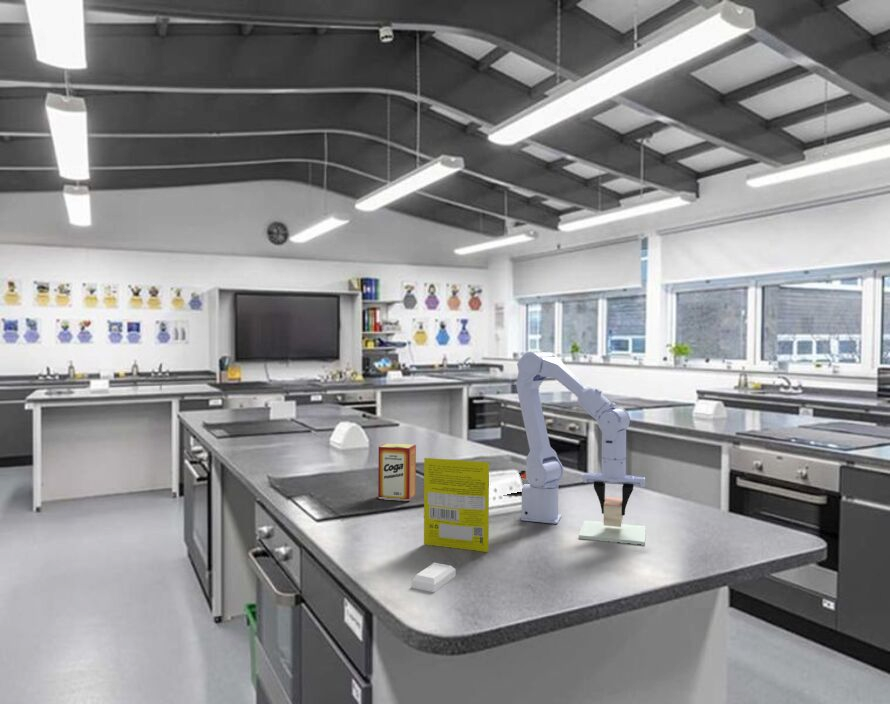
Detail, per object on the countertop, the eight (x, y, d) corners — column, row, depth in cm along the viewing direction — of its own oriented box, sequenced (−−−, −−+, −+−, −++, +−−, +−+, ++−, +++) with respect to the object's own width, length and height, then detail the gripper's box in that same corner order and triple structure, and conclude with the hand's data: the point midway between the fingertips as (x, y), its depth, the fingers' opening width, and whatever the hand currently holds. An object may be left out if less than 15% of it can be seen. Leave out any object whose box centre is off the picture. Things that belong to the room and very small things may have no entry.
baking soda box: (378, 499, 184) (378, 445, 183) (385, 494, 190) (385, 442, 190) (409, 502, 181) (409, 447, 181) (415, 496, 188) (415, 443, 187)
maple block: (606, 516, 157) (606, 496, 157) (622, 518, 155) (622, 498, 155) (603, 525, 149) (603, 504, 149) (620, 526, 148) (621, 505, 148)
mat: (578, 538, 149) (578, 535, 149) (584, 523, 161) (584, 520, 161) (644, 545, 144) (644, 541, 144) (645, 529, 156) (645, 526, 156)
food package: (489, 551, 139) (489, 462, 139) (487, 553, 138) (488, 462, 138) (424, 543, 144) (425, 457, 144) (423, 545, 143) (423, 458, 143)
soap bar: (411, 589, 119) (411, 575, 118) (433, 573, 127) (433, 560, 127) (434, 594, 116) (434, 580, 116) (455, 578, 124) (455, 564, 124)
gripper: (581, 459, 151) (581, 515, 151) (644, 462, 146) (644, 520, 146) (584, 454, 157) (584, 507, 157) (645, 457, 153) (644, 513, 153)
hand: (613, 513), depth 152 cm, fingers closed on maple block, 4 cm apart
